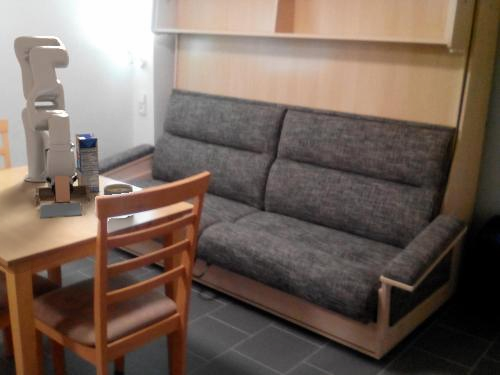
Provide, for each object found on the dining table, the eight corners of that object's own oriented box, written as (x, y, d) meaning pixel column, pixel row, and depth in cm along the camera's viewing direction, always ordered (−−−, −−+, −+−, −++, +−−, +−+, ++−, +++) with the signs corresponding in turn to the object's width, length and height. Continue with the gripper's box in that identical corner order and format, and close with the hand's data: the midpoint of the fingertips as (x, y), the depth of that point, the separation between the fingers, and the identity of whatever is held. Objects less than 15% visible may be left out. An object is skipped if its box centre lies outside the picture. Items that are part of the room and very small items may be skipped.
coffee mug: (101, 211, 195) (100, 185, 192) (128, 208, 200) (127, 182, 197) (112, 223, 184) (111, 195, 181) (140, 219, 189) (139, 192, 186)
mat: (40, 205, 198) (40, 204, 198) (80, 203, 203) (80, 202, 203) (39, 218, 186) (39, 216, 186) (82, 215, 190) (81, 214, 190)
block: (56, 197, 208) (54, 172, 205) (69, 196, 209) (68, 171, 206) (56, 202, 202) (54, 176, 199) (70, 201, 204) (68, 176, 201)
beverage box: (82, 193, 215) (79, 139, 209) (78, 186, 225) (75, 134, 219) (99, 192, 218) (97, 138, 212) (94, 184, 228) (92, 133, 222)
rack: (36, 197, 208) (36, 187, 206) (88, 194, 214) (88, 185, 213) (35, 205, 199) (35, 195, 198) (90, 202, 205) (89, 192, 204)
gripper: (83, 144, 206) (85, 189, 211) (36, 145, 201) (39, 192, 206) (84, 148, 199) (86, 195, 205) (35, 150, 194) (38, 198, 199)
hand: (62, 193), depth 205 cm, fingers closed on block, 5 cm apart
